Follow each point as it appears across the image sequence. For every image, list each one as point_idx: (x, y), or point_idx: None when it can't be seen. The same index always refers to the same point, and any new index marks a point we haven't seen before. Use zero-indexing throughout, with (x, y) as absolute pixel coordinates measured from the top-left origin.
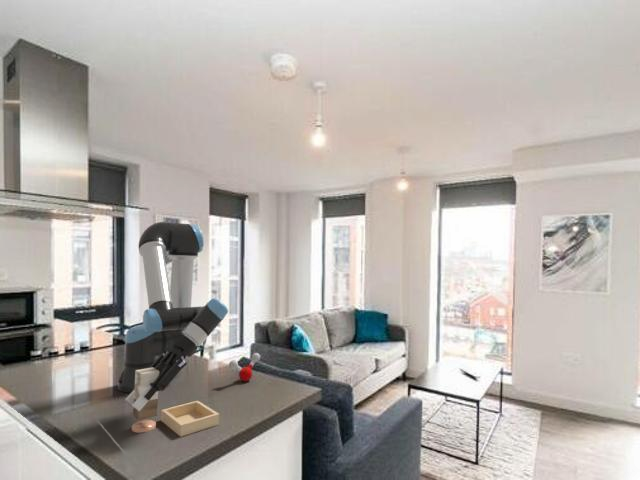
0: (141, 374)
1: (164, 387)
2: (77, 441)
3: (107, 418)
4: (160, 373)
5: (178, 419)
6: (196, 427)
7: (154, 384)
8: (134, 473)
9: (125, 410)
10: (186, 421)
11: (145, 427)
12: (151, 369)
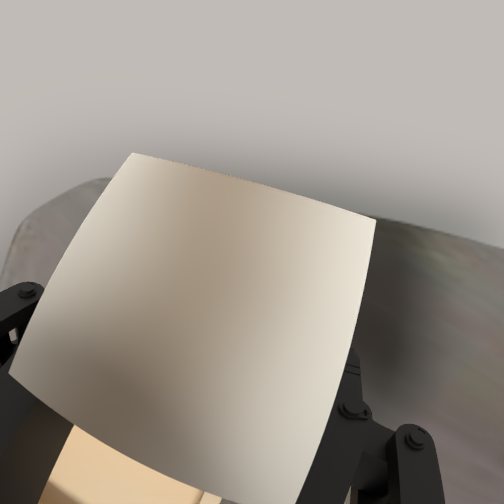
0: (135, 153)
1: (13, 341)
2: None
3: (442, 358)
4: (29, 399)
5: (168, 501)
6: None
7: None
8: (70, 191)
9: (452, 438)
10: (124, 495)
11: None
12: (178, 401)
